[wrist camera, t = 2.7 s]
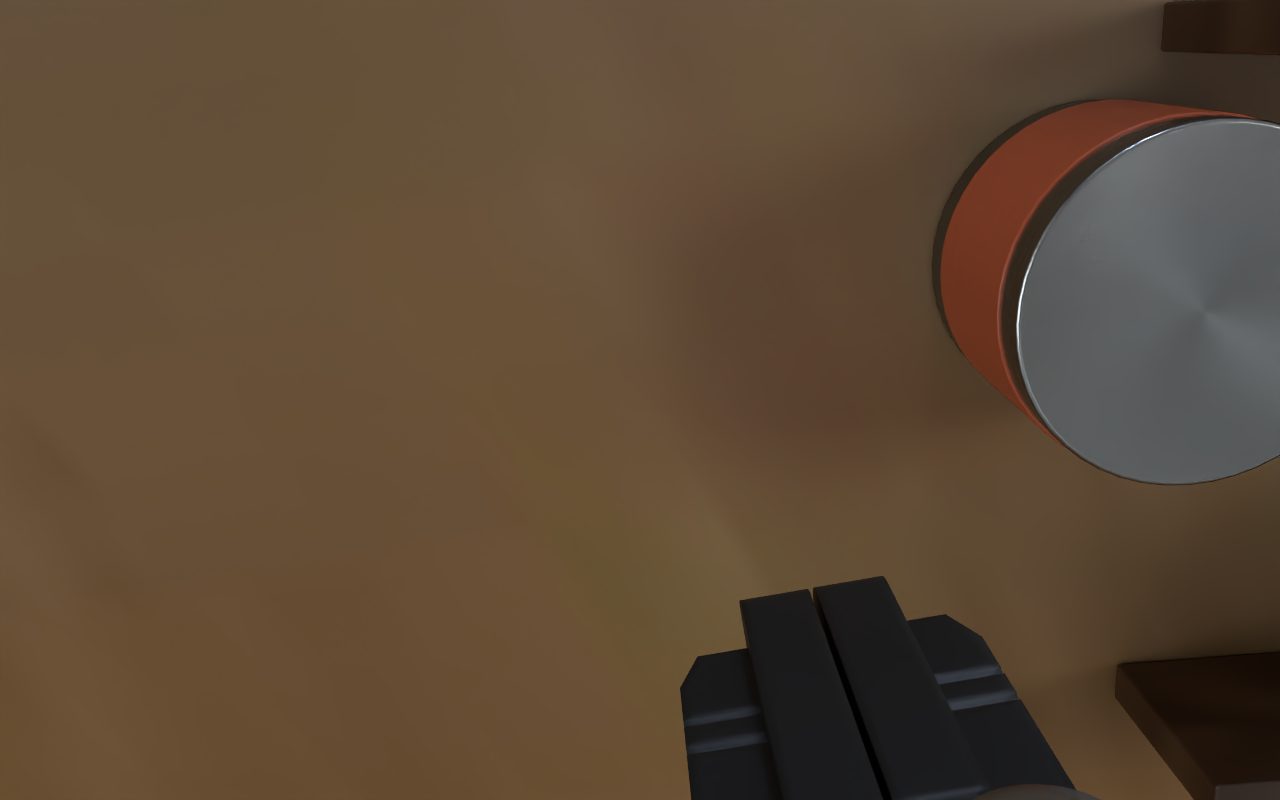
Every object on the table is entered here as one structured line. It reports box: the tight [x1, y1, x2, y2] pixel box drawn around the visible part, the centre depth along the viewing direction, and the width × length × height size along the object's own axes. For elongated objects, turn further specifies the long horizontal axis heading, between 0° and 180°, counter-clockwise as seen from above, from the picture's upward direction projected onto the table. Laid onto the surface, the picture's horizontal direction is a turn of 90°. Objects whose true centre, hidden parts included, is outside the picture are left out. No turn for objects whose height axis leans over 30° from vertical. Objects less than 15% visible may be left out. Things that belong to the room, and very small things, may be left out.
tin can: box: [932, 100, 1280, 485], centre depth 23 cm, size 7×7×6 cm
